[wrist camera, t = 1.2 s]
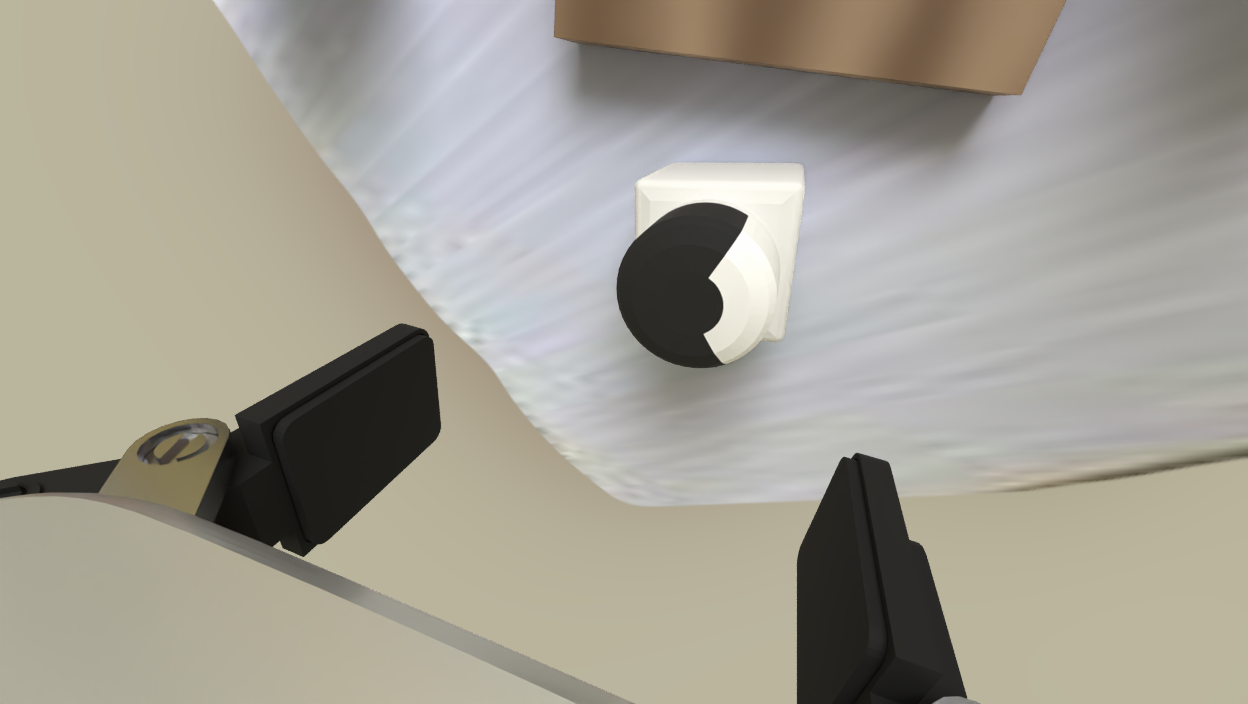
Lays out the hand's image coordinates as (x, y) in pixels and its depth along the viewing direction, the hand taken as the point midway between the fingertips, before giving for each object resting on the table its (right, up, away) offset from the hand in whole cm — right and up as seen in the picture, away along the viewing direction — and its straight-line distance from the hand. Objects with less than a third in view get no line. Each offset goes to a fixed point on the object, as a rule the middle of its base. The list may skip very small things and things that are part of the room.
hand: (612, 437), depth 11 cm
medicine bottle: (+6, +9, +17) cm, 20 cm away
